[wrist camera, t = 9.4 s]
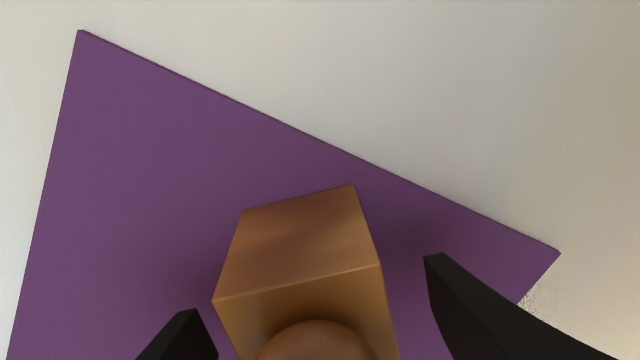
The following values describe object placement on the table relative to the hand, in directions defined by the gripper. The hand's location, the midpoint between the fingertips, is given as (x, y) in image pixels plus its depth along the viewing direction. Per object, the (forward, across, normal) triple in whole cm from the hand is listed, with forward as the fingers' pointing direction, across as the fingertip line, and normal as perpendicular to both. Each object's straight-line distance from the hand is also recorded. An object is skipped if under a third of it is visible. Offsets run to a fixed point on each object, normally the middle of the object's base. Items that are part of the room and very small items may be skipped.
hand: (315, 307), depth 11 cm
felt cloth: (+4, +4, +5) cm, 7 cm away
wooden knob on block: (+4, 0, 0) cm, 4 cm away
